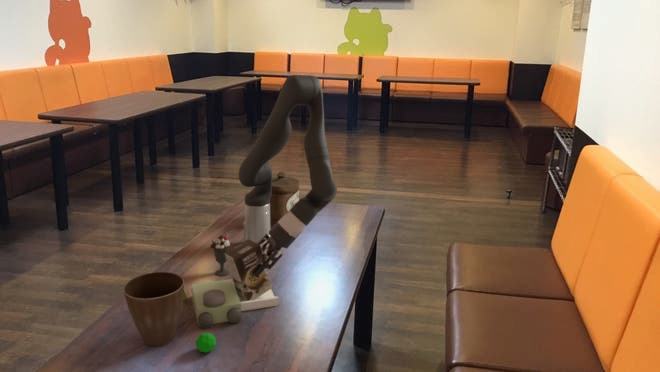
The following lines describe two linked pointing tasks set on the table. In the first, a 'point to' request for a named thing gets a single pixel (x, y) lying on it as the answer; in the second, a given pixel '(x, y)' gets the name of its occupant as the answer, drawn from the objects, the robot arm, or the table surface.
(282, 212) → the wooden container
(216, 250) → the sundae
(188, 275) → the table surface
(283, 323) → the table surface
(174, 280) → the plant pot
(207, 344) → the polyhedron
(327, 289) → the table surface
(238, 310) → the toy front loader
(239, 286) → the coffee box
